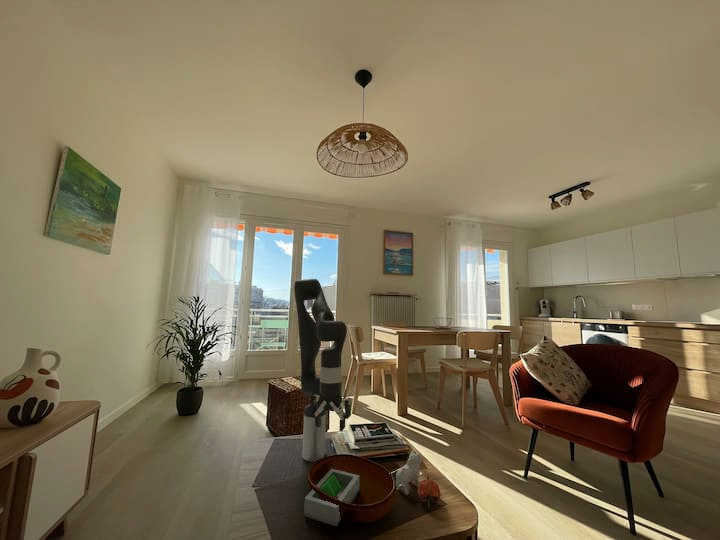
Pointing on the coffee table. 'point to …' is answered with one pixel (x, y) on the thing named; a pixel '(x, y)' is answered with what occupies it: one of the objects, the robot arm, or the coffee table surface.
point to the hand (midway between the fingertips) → (330, 428)
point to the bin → (326, 509)
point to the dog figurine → (409, 471)
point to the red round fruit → (429, 491)
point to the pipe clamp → (330, 486)
